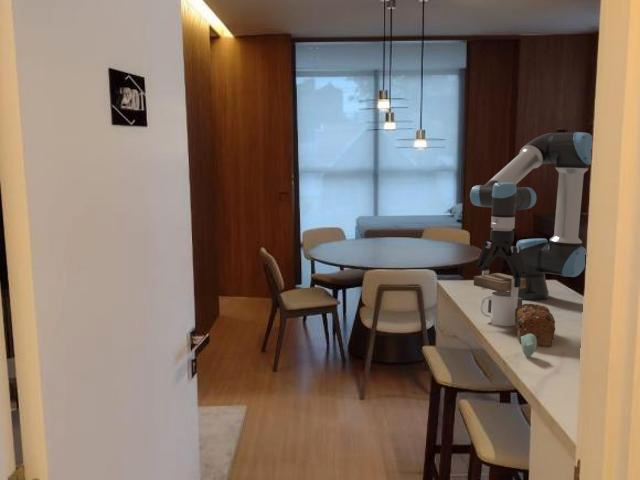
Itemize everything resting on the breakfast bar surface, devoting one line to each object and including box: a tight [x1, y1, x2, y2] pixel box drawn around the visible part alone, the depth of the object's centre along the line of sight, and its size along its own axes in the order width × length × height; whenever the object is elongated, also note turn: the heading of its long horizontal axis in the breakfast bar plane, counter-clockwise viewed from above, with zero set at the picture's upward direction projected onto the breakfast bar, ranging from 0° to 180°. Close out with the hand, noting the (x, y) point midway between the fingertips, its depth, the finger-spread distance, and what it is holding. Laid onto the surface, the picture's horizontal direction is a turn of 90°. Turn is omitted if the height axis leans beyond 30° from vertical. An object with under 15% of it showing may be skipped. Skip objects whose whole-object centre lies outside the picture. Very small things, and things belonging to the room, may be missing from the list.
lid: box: [473, 272, 526, 292], centre depth 204 cm, size 12×12×3 cm
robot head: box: [520, 334, 538, 358], centre depth 171 cm, size 8×4×7 cm, turn 177°
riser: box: [487, 297, 524, 314], centre depth 219 cm, size 11×6×5 cm, turn 123°
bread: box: [514, 303, 556, 348], centre depth 189 cm, size 19×11×10 cm, turn 165°
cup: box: [479, 291, 518, 327], centre depth 205 cm, size 8×12×10 cm
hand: (499, 292), depth 204 cm, fingers closed on lid, 12 cm apart
